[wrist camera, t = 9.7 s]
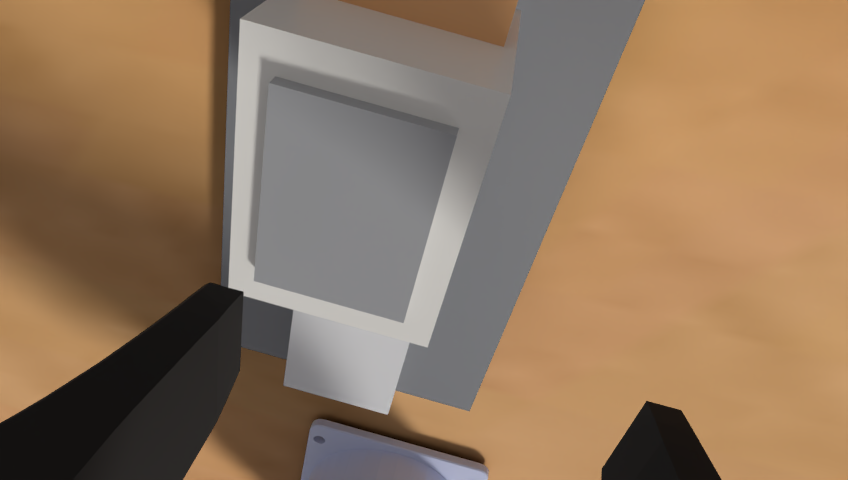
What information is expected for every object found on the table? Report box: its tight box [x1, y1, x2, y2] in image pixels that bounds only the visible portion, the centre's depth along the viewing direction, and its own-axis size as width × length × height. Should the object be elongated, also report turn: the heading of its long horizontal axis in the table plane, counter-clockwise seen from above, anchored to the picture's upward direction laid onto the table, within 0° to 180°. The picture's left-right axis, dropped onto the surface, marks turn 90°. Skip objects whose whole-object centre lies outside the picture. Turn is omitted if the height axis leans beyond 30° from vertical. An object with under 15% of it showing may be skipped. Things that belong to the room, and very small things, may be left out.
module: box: [228, 0, 521, 348], centre depth 14 cm, size 6×4×5 cm
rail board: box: [221, 0, 645, 415], centre depth 17 cm, size 20×10×5 cm, turn 168°
